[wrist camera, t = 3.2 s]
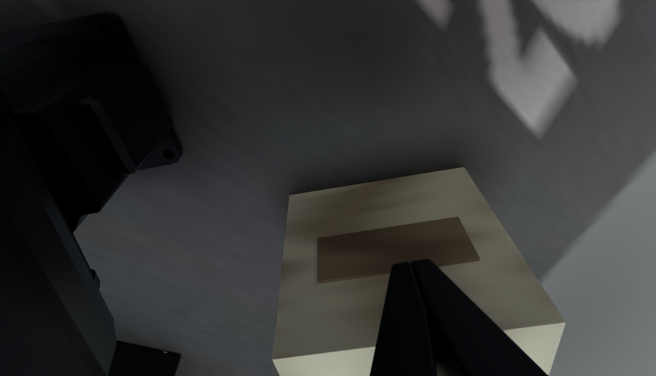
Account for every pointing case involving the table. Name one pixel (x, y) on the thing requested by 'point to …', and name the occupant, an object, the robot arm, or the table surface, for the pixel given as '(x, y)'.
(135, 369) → the tissue box
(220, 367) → the table surface
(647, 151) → the table surface
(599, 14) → the table surface
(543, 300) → the birch domino
